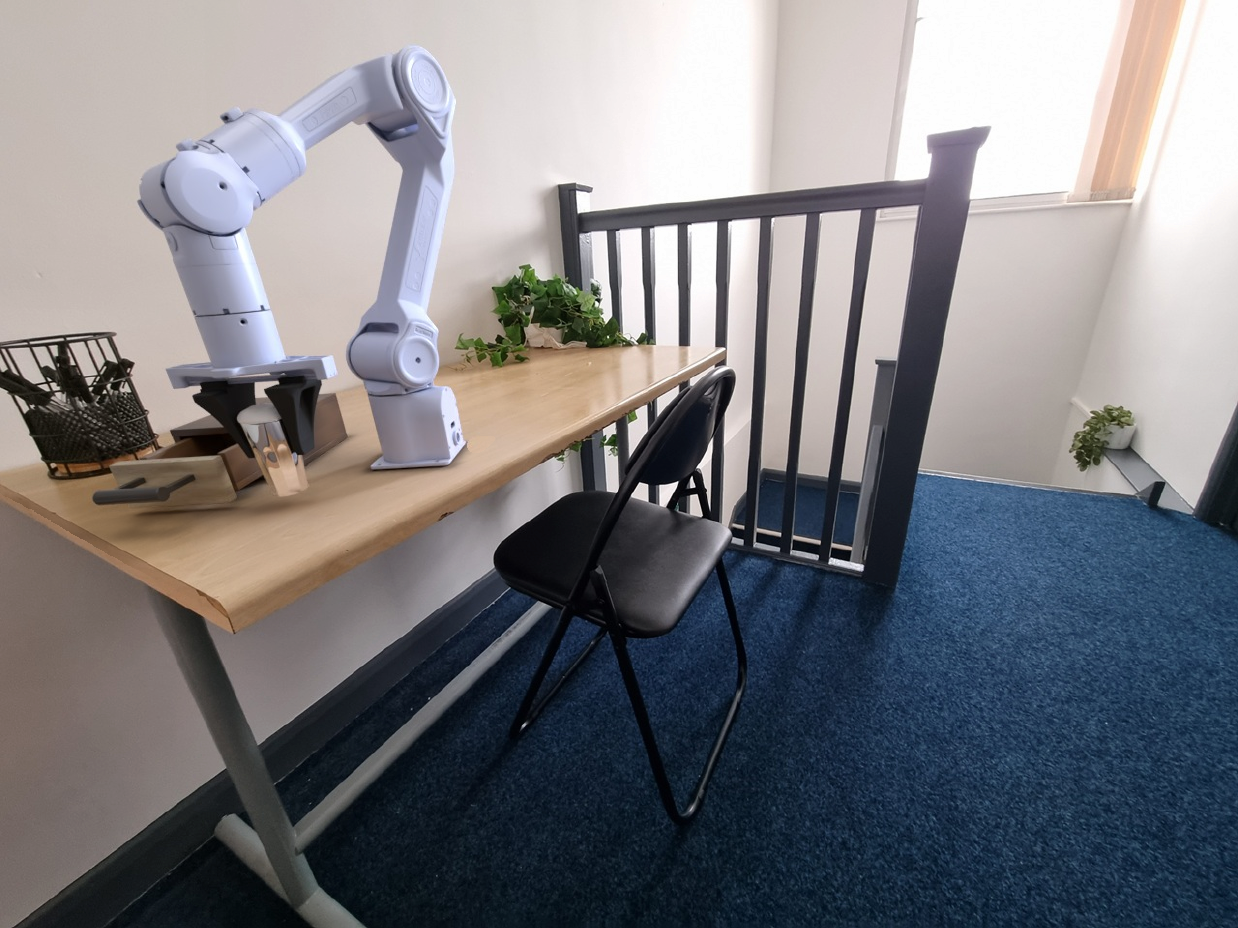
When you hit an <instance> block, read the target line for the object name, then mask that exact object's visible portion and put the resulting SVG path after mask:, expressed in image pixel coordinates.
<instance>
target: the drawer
mask: <svg viewBox="0 0 1238 928" xmlns="http://www.w3.org/2000/svg"><path fill="white" fill-rule="evenodd" d="M108 467H109V469H110V471H111V474H113V477H114V479H115V482H116V484H117V485H118V487H116V488H113V489H100V490H97V491H95V492H94V493H93V494H92V497H91V500H92V502H93V503H94V505H97V506H115V505H127V506H128V508H129V509H140V508H141V509H142V508H160V507H175V506H176V507H177V506H192V505H210V504H211V505H212V504H228V503H231V502H233V501H234V500H236V499H237V498H238V497H237V494H236V491H240V490H241V489H242V488H244V487H246V486H248V485H249V484H251V483H252V482H254V481H256V480H258V479H257V478H259V477H261V476H262V475H263V473H262V470H261V468H260V466H259V464H258V462H257V460H256V457H255V458H248V457H247V456H246V455H245V453H244V452H243V450H242V449H241V448H240V446H239V445H238V444H237V442H236V441H235V440H234V438H233V437H232V436H231V435H230V434H229V433H228V434H212V435H195V436H191V437H188V438H186V439H183V440H181V441H179V442H176V443H175V442H174V443H171V444H169V445H166V446H164V447H162V448H159V449H157V450H155V451H152V452H150V453H147V454H145V455H143V456H140V457H139V459H138V460H137V459H136V460H122V461H117V462H113V463H111V464H109V466H108Z"/></svg>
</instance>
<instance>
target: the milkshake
mask: <svg viewBox="0 0 1238 928" xmlns="http://www.w3.org/2000/svg"><path fill="white" fill-rule="evenodd" d="M237 421H238V422H239V425H240V427H241V429H242V431H243V433H244V435H245V437H246V439H247V441H248V443H249V445H250V447H251V449H252V451H253V453H254V455H255V457H256V460H257V462H258V464H259V466H260V468H261V470H262V473H263V475H264V477H265V478H264V480H265V481H266V483H267V486H268V488H269V490H270V492H271V494H272V495H273V496H274V497H280V498H282V497H291V496H292V495H296V494H299V493H302V492H304V491H305V490H307V489H308V488H309V479H308V475H307V471H306V468H305V467H306V465H305V466H304V462H303V458H302V455H297V454H296V452H295V451H294V449H293V447H292V444H291V442H290V439H289V436H288V433H287V430H286V427H285V425H284V423H283V421H282V419H281V417H280V415H279V413H278V411H277V410H276V408H275V406H274V405H273V404H272V403H265V404H262V405H252V406H250V407H248V408H246V409H244V410H242V411H241V412H240V413H239V414H238V416H237Z"/></svg>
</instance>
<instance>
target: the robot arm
mask: <svg viewBox="0 0 1238 928" xmlns="http://www.w3.org/2000/svg"><path fill="white" fill-rule="evenodd" d="M456 103H457V100H456V97H455V95H454V92H453V90H452V88H451V86H450V84H449V81H448V78H447V76H446V74H445V72H444V70H443V68H442V67H441V65H440V63H439V62H438V60H437V59H436V58H435V57H434V56H433V54H431V53H430V52H429V51H428V50H427V49H426V48H424V47H422V46H420V45H418V44H408V45H406V46H404V47H403V48H401V49H400V50H399V51H398V52H395V53H393V52H389V53H387V54H383V55H380V56H377V57H374V58H372V59H369V60H366V61H364V62H361V63H357V64H355V65H353V66H350V67H347V68H346V69H343V70H342V71H339V72H337V73H334V74H332V75H330V76H329V77H328V78H326V79H325V80H324V81H323V82H321V83H320V84H318V85H317V86H315V87H314V88H313V89H311V90H310V91H309V92H306V94H304V95H303V96H301V97H300V98H299V99H297V100H296V101H295V102H293V103H292V104H290V105H289V106H287V107H286V108H285V109H284V110H281V112H280V113H278V114H277V115H276V114H273V113H270V112H267V111H264V110H262V109H258V108H247V109H245V111H242V110H241V109H240V107H238V106H234V107H232V108H229V109H228V110H226V111H224V112H223V113H221V114H220V115H219V118H220V120H221V121H222V122H223V123H224V124H222V125H221V126H219V127H218V128H216V129H214V130H212V131H211V132H209V133H208V134H206V135H204V136H203V137H201V138H199V139H198V140H196V141H194V140H193V139H191V138H190V137H187V138H185V139H183V140H181V141H180V142H178V143H176V144H175V149H176V150H177V153H176V155H175V156H174V157H172V158H170V159H168V160H165V161H163V162H160V163H158V164H156V165H153V166H152V167H150V168H148V169H147V170H145V172H144V173H143V174H142V176H141V178H140V181H141V183H140V184H139V187H138V188H139V196H140V198H139V199H137V200H136V203H137V205H138V207H139V209H140V210H141V212H142V213H143V214H144V216H145V218H147V219H148V221H149V222H150V223H151V224H152V225H154V227H156V228H157V229H158V230H160V231H161V232H162V233H163V235H164V238H165V240H166V243H167V245H168V248H169V251H170V253H171V256H172V261H173V265H174V267H175V269H176V272H177V275H178V277H179V280H180V283H181V286H182V288H183V291H184V294H185V296H186V299H187V302H188V305H189V307H190V310H191V312H192V315H193V318H194V321H195V323H196V326H197V328H198V332H199V334H200V336H201V337H200V338H201V339H202V343H203V345H204V348H205V350H206V353H207V356H208V358H209V360H210V361H206V362H198V363H196V362H195V363H183V364H178V365H174V366H170V367H167V368H165V371H166V374H167V377H168V379H169V381H170V384H171V386H172V389H174V390H177V389H178V390H179V389H187V388H189V387H200V389H199V392H196V393H193V394H192V395H191V397H192V400H193V402H194V404H196V405H197V406H199V407H200V408H202V409H203V410H204V411H205V412H206V413H208V414H209V415H212V416H213V417H214V418H215V419H216V420H217V421H218V422H219V423H220V424H221V425H222V426H223V427H224V428H225V429H226V430H227V431H228V432H229V434H230V435H231V436H232V437H233V438H234V440H235V441H236V442H237V444H238V445H239V446H240V448H241V449H242V450H243V452H244V453H245V455H246V456H247V457H248V458H255V455H254V453H253V451H252V449H251V447H250V445H249V443H248V441H247V439H246V437H245V435H244V433H243V431H242V429H241V427H240V425H239V422H238V421H237V416H238V414H239V413H240V412H241V411H242V410H244V409H246V408H248V407H250V406H252V405H256V400H255V398H256V383H266V382H267V383H268V382H278V383H277V384H274V385H271V386H269V387H268V386H267V387H265V388H264V389H263V391H264V395H266V397H268V398H269V399H270V401H271V402H272V403H273V405H274V406H275V408H276V410H277V411H278V413H279V415H280V417H281V419H282V421H283V423H284V425H285V427H286V430H287V433H288V436H289V439H290V442H291V444H292V447H293V449H294V451H295V452H296V454H297V455H305V454H307V453H308V452H310V451H311V450H313V449H314V448H315V445H314V417H315V409H316V403H317V399H318V395H319V394H320V392H321V388H322V386H323V383H322V382H323V380H329V379H331V378H334V377H337V376H338V375H339V373H338V370H337V369H338V368H337V366H336V363H335V359H334V356H333V355H332V354H331V355H330V354H329V355H286V354H285V351H284V350H285V349H284V346H283V343H282V341H281V338H280V333H279V331H278V328H277V324H276V322H275V319H274V314H273V312H272V309H271V306H270V303H269V299H268V296H267V292H266V290H265V287H264V284H263V280H262V277H261V274H260V271H259V268H258V265H257V264H258V263H257V262H256V258H255V255H254V252H253V250H252V247H251V243H250V240H249V237H248V233H247V229H246V228H247V227H249V225H250V223H251V222H252V218H253V214H254V211H257V210H258V209H259V208H261V207H262V206H264V204H265V203H268V202H269V201H270V200H271V199H273V198H274V197H276V196H277V195H278V194H279V193H281V192H282V191H283V190H284V189H286V188H287V187H289V186H290V185H292V184H293V183H294V182H296V181H297V180H298V179H300V178H301V177H303V176H304V175H305V174H306V170H307V158H306V151H308V150H309V149H311V148H313V147H314V146H317V144H319V143H321V142H322V141H323V140H325V139H327V138H329V137H330V136H331V135H333V134H334V133H336V132H338V131H339V130H340V129H342V128H344V127H345V126H347V125H348V124H350V123H353V124H355V125H356V126H362V125H365V126H366V127H367V128H368V130H369V131H370V132H371V133H372V134H373V136H374V137H375V138H376V139H377V140H378V142H379V143H380V144H381V146H383V148H384V149H385V150H386V152H387V153H388V154H389V155H390V156H391V157H392V159H393V160H394V161H395V162H396V163H398V164H399V165H400V167H401V170H402V173H401V178H400V182H399V188H398V192H397V198H396V203H395V208H394V211H393V212H394V213H393V217H392V222H391V227H390V231H389V237H388V241H387V245H386V252H385V257H384V262H383V267H382V271H381V276H380V282H379V286H378V292H377V295H376V296H377V297H376V300H375V302H374V303H373V304H372V305H371V306H370V307H369V308H368V309H367V310H366V311H365V312H364V314H363V315H362V316H361V317H360V321H359V322H360V323H359V326H358V328H357V330H356V332H355V333H354V335H353V336H352V337H350V339H349V341H348V343H347V346H346V349H345V359H346V360H345V361H346V363H347V366H348V368H349V370H350V371H351V373H352V374H353V375H354V376H355V377H356V378H357V379H359V380H361V381H362V382H363V385H364V389H365V390H366V394H367V398H368V402H369V406H370V410H371V414H372V418H373V420H374V421H373V422H374V425H375V429H376V433H377V437H378V442H379V446H380V448H381V454H382V455H381V456H380V457H378V458H377V460H375V461H374V462H373V463H372V464H371V465H370V469H371V470H388V469H402V468H403V469H404V468H419V467H420V468H421V467H437V466H439V467H440V466H447V465H450V464H451V463H452V462H453V460H455V458H456V456H457V455H458V454H459V453H460V451H461V450H462V449H463V447H465V445H466V444H467V442H466V440H465V439H464V436H463V430H462V425H461V419H460V414H459V409H458V403H457V399H456V395H455V394H454V391H453V389H452V388H451V387H449V386H446V385H435V384H434V380H435V378H436V376H437V374H438V372H439V367H440V355H439V351H438V337H439V333H440V331H439V329H438V327H437V325H435V323H434V322H433V321H432V320H431V318H430V317H429V316H428V308H429V303H430V299H431V293H432V288H433V282H434V278H435V275H436V274H435V273H436V268H437V263H438V259H439V253H440V249H441V245H442V244H441V243H442V238H443V234H444V228H445V223H446V219H447V213H448V208H449V204H450V199H451V193H452V189H453V183H454V178H455V173H456V172H455V171H456V165H455V156H454V146H453V135H452V123H453V119H454V115H455V109H456Z"/></svg>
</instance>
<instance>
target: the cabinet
mask: <svg viewBox="0 0 1238 928" xmlns="http://www.w3.org/2000/svg"><path fill="white" fill-rule="evenodd" d="M255 400H256V405H262V404H265V403H272V402H271V401H270V399H269V398H268V396H265V397H255ZM272 404H273V403H272ZM169 433H170V435H171V437H172V439H173V441H174V443H176V442H179V441H181V440H183V439H186V438H188V437H191V436H195V435H212V434H228V433H229V432H228V431H227V430H226V429H225V428H224V427H223V426H222V425H221V424H220V423H219V422H218V421H217V420H216V419H215V418H214V417H213V416H212V415H211V414H209V415H206V416H204V417H200V418H199V419H196V420H193V421H191V422H188V423H185V424H182V425H180V426H178V427H175V428H173V429H170V430H169ZM347 438H348V433H347V429H346V425H345V422H344V418H343V415H342V411H341V408H340V404H339V401H338V397H337V393H336V392H333V393H332V392H331V393H319V395H318V399H317V403H316V409H315V417H314V445H315V448H314V449H313V450H311V451H310V452H308V453H307V454H305V455H302V458H303V462H304V466H305V467H306V465H308V464H310V463H311V462H312V461H314V460H315V459H317V458H318V457H320V456H321V455H323V454H325V453H326V452H327V451H329V450H331V449H332V448H334V447H335V446H336V445H338V444H340V443H341V442H342V441H344V440H346V439H347ZM259 479H265V477H264V475H262V476H261V477H259V478H257V479H256V480H259Z"/></svg>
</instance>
